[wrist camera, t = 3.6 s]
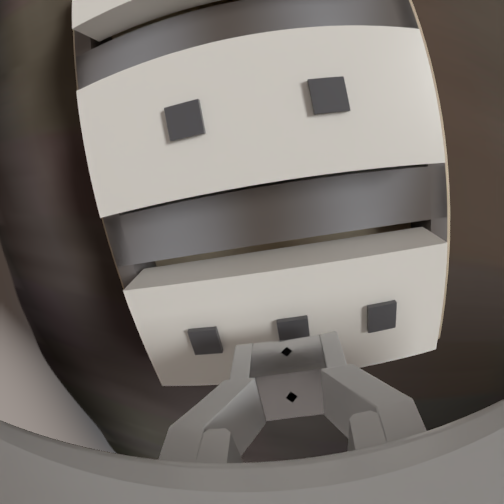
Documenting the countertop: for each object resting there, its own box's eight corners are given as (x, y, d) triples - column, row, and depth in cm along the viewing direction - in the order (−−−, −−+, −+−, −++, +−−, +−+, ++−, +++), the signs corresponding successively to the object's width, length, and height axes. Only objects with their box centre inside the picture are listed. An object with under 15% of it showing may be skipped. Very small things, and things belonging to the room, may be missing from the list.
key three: (422, 226, 10) (450, 244, 8) (417, 323, 12) (437, 352, 10) (143, 268, 12) (120, 293, 10) (174, 356, 13) (160, 389, 11)
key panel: (358, -65, 9) (377, -106, 5) (423, 316, 16) (454, 359, 12) (94, -14, 11) (55, -41, 6) (170, 351, 18) (148, 400, 14)
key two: (396, 45, 8) (422, 26, 6) (418, 158, 10) (448, 163, 7) (105, 97, 9) (72, 90, 7) (126, 205, 11) (97, 219, 9)
